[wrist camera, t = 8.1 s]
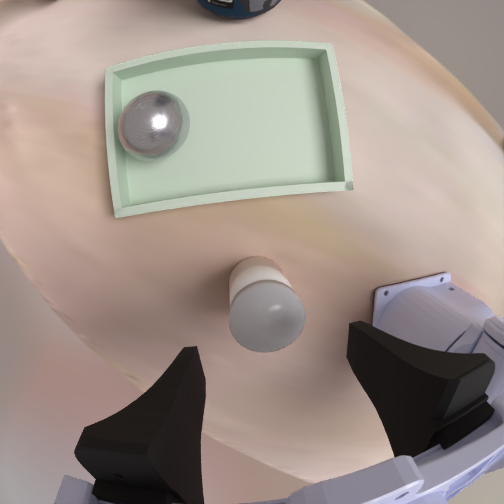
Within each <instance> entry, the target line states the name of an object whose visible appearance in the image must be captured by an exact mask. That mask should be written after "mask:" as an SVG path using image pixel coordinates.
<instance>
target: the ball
mask: <svg viewBox="0 0 504 504" xmlns="http://www.w3.org/2000/svg"><path fill="white" fill-rule="evenodd" d="M189 129H190V116H189V113H188V110H187V108H186V106H185V104H184V103H183V102H182V101H181V100H180V99H179V98H178V97H177V96H175V95H174V94H171V93H169V92H166V91H160V90H154V91H148V92H144V93H142V94H140V95H138V96H136V97H135V98H133V99H132V100H131V101H130V102H129V103H128V104H127V105H126V106H125V108H124V109H123V111H122V113H121V115H120V118H119V121H118V136H119V140H120V142H121V144H122V146H123V148H124V149H125V150H126V151H127V152H128V153H129V154H130V155H132V156H133V157H135V158H137V159H140V160H143V161H159V160H162V159H165V158H167V157H169V156H171V155H173V154H174V153H175V152H177V151H178V150H179V149H180V148H181V146H182V145H183V144H184V142H185V140H186V139H187V136H188V133H189Z"/></svg>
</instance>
